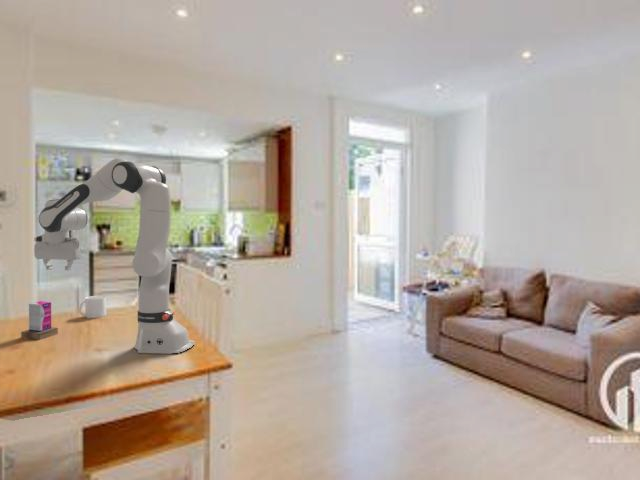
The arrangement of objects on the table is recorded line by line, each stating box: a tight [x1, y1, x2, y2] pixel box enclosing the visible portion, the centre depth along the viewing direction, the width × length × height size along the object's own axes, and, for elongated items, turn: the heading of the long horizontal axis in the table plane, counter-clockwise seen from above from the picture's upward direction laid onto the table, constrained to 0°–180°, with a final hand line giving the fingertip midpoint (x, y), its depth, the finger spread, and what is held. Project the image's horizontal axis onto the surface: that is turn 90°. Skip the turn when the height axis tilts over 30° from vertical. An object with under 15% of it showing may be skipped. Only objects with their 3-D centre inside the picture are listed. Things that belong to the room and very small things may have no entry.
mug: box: [78, 295, 107, 319], centre depth 212 cm, size 12×9×9 cm
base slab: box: [20, 326, 59, 340], centre depth 179 cm, size 9×9×2 cm
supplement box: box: [28, 300, 52, 332], centre depth 179 cm, size 6×6×12 cm
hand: (58, 269), depth 185 cm, fingers open, 8 cm apart
